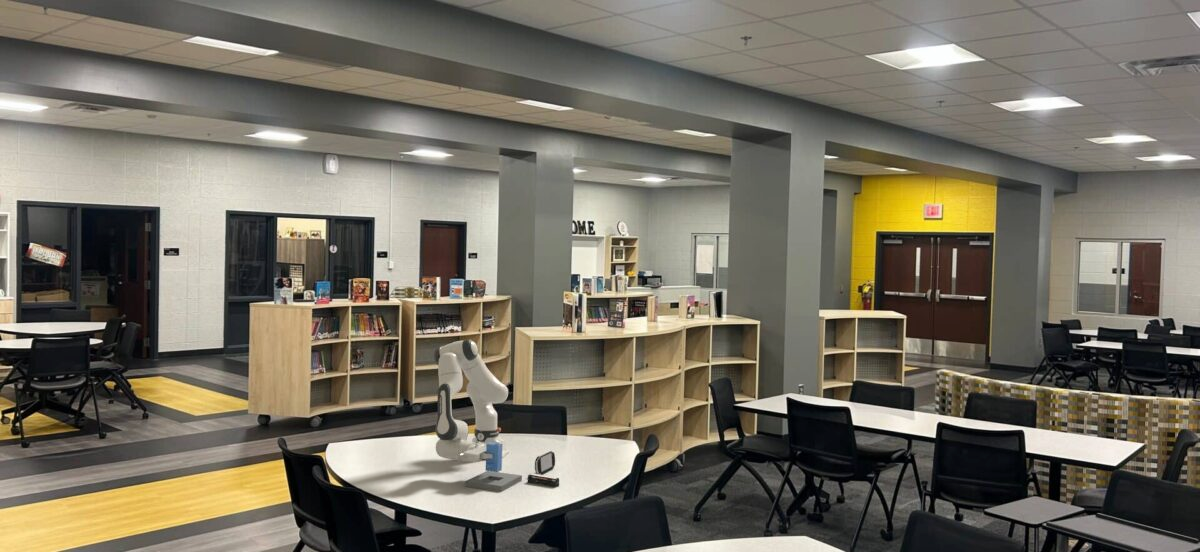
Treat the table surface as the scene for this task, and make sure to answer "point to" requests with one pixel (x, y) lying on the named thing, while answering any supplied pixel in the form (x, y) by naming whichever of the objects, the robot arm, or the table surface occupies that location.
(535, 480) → the black flat block
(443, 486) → the table surface
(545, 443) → the table surface
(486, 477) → the plate
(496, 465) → the blue rectangular block
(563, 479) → the table surface
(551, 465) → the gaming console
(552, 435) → the table surface
